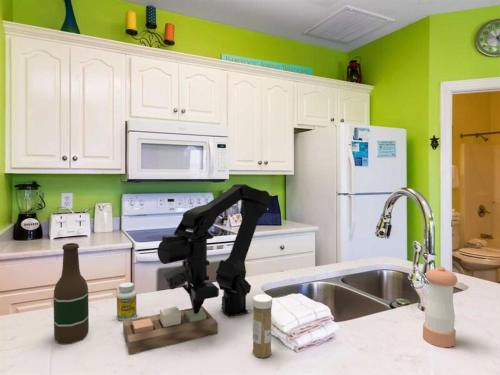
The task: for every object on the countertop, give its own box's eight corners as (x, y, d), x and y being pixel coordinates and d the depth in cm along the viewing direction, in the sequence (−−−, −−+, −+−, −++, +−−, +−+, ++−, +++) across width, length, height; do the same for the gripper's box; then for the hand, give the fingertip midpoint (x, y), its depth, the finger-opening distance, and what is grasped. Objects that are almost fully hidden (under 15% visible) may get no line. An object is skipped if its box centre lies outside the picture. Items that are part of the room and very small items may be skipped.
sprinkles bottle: (273, 357, 76) (274, 300, 75) (254, 359, 75) (255, 301, 74) (268, 347, 80) (269, 293, 80) (250, 349, 79) (250, 294, 78)
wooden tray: (202, 316, 97) (202, 306, 97) (217, 334, 86) (217, 322, 86) (123, 331, 87) (123, 320, 86) (129, 354, 76) (129, 342, 76)
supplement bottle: (133, 311, 99) (133, 280, 99) (138, 318, 95) (138, 285, 94) (115, 315, 96) (114, 283, 96) (119, 322, 92) (118, 289, 91)
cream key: (176, 316, 89) (176, 306, 89) (180, 323, 85) (180, 312, 85) (159, 320, 87) (159, 309, 87) (163, 327, 83) (163, 315, 83)
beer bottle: (95, 332, 86) (94, 242, 85) (70, 347, 79) (69, 248, 78) (72, 327, 89) (71, 239, 88) (46, 341, 81) (45, 245, 80)
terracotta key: (149, 329, 86) (149, 318, 86) (153, 336, 82) (153, 325, 82) (132, 332, 84) (132, 321, 84) (134, 340, 80) (134, 328, 80)
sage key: (200, 318, 93) (200, 308, 92) (206, 325, 89) (206, 314, 88) (185, 322, 90) (185, 311, 90) (190, 328, 87) (190, 317, 86)
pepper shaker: (443, 350, 80) (447, 273, 79) (416, 337, 86) (419, 265, 85) (461, 343, 83) (464, 269, 82) (433, 331, 89) (436, 262, 88)
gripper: (158, 252, 93) (158, 305, 94) (175, 269, 77) (175, 334, 77) (196, 248, 98) (196, 299, 99) (219, 264, 82) (219, 325, 83)
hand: (195, 313), depth 89 cm, fingers closed, pressing on sage key
